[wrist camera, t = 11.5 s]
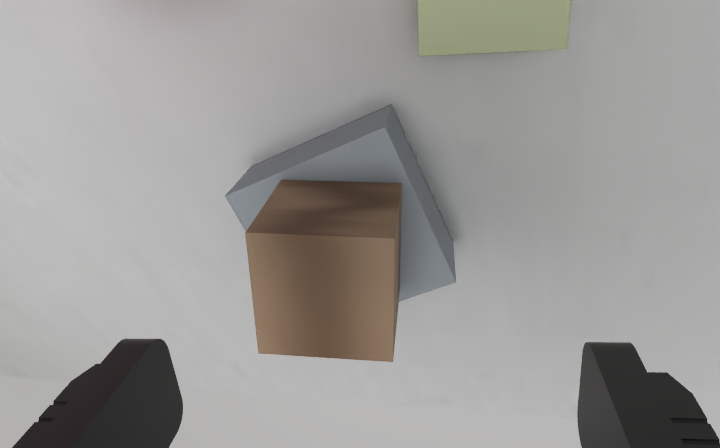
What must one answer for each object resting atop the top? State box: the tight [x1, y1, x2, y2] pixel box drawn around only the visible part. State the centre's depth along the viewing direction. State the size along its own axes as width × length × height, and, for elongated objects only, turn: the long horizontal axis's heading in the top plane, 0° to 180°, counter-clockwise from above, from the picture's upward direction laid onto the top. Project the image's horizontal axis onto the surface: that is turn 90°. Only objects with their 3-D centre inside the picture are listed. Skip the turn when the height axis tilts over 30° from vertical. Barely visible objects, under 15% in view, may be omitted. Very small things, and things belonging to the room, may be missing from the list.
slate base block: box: [225, 104, 456, 301], centre depth 31 cm, size 9×9×5 cm
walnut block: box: [245, 180, 402, 362], centre depth 26 cm, size 6×6×6 cm
